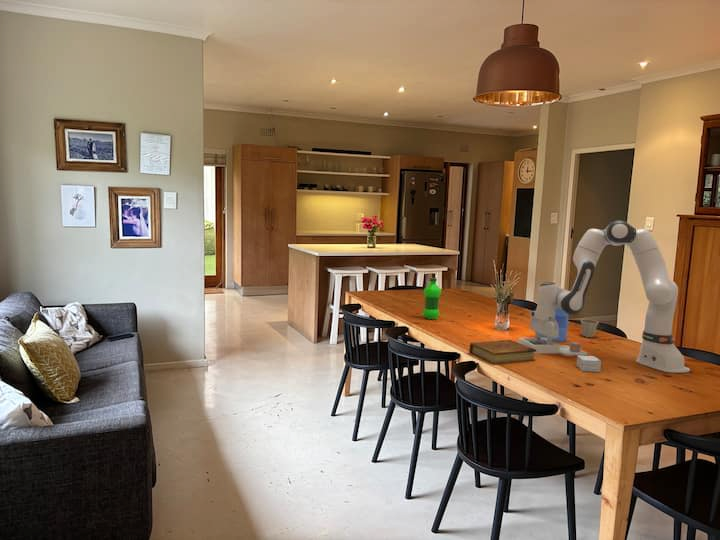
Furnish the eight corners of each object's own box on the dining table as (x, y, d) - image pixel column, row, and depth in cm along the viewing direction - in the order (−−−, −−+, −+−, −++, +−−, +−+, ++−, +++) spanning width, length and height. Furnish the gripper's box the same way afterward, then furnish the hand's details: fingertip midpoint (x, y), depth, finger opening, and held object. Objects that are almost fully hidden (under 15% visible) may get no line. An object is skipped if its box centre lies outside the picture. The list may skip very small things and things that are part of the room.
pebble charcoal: (539, 349, 255) (539, 341, 254) (533, 349, 254) (533, 341, 253) (535, 347, 258) (535, 339, 258) (529, 347, 257) (529, 340, 257)
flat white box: (559, 354, 251) (560, 345, 251) (532, 354, 248) (533, 345, 248) (543, 346, 265) (544, 337, 264) (518, 346, 262) (518, 337, 261)
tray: (588, 356, 250) (588, 353, 250) (564, 356, 247) (564, 353, 247) (571, 348, 264) (571, 345, 263) (547, 348, 261) (547, 346, 261)
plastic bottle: (440, 320, 315) (443, 279, 312) (422, 320, 315) (425, 278, 312) (438, 317, 325) (440, 277, 322) (421, 316, 325) (423, 276, 322)
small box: (575, 366, 233) (577, 354, 233) (594, 367, 233) (595, 356, 232) (581, 371, 226) (583, 359, 225) (600, 372, 225) (601, 361, 224)
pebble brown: (579, 352, 255) (580, 344, 254) (573, 352, 254) (574, 344, 254) (575, 350, 258) (575, 342, 258) (569, 350, 258) (570, 342, 257)
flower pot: (599, 339, 286) (600, 323, 285) (580, 337, 288) (582, 322, 287) (595, 335, 295) (596, 320, 294) (577, 333, 297) (578, 318, 296)
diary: (508, 350, 256) (509, 339, 255) (535, 361, 239) (536, 349, 238) (469, 353, 247) (470, 341, 246) (493, 365, 230) (494, 352, 229)
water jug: (539, 334, 292) (543, 284, 288) (569, 338, 284) (573, 287, 280) (532, 339, 278) (537, 287, 275) (563, 344, 270) (568, 291, 267)
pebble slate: (547, 349, 255) (548, 341, 255) (541, 349, 255) (542, 341, 254) (543, 347, 259) (544, 339, 258) (537, 347, 258) (538, 339, 258)
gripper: (563, 320, 245) (560, 348, 247) (540, 311, 265) (537, 337, 267) (551, 320, 244) (548, 349, 246) (528, 311, 264) (526, 338, 266)
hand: (542, 343), depth 257 cm, fingers open, 7 cm apart
